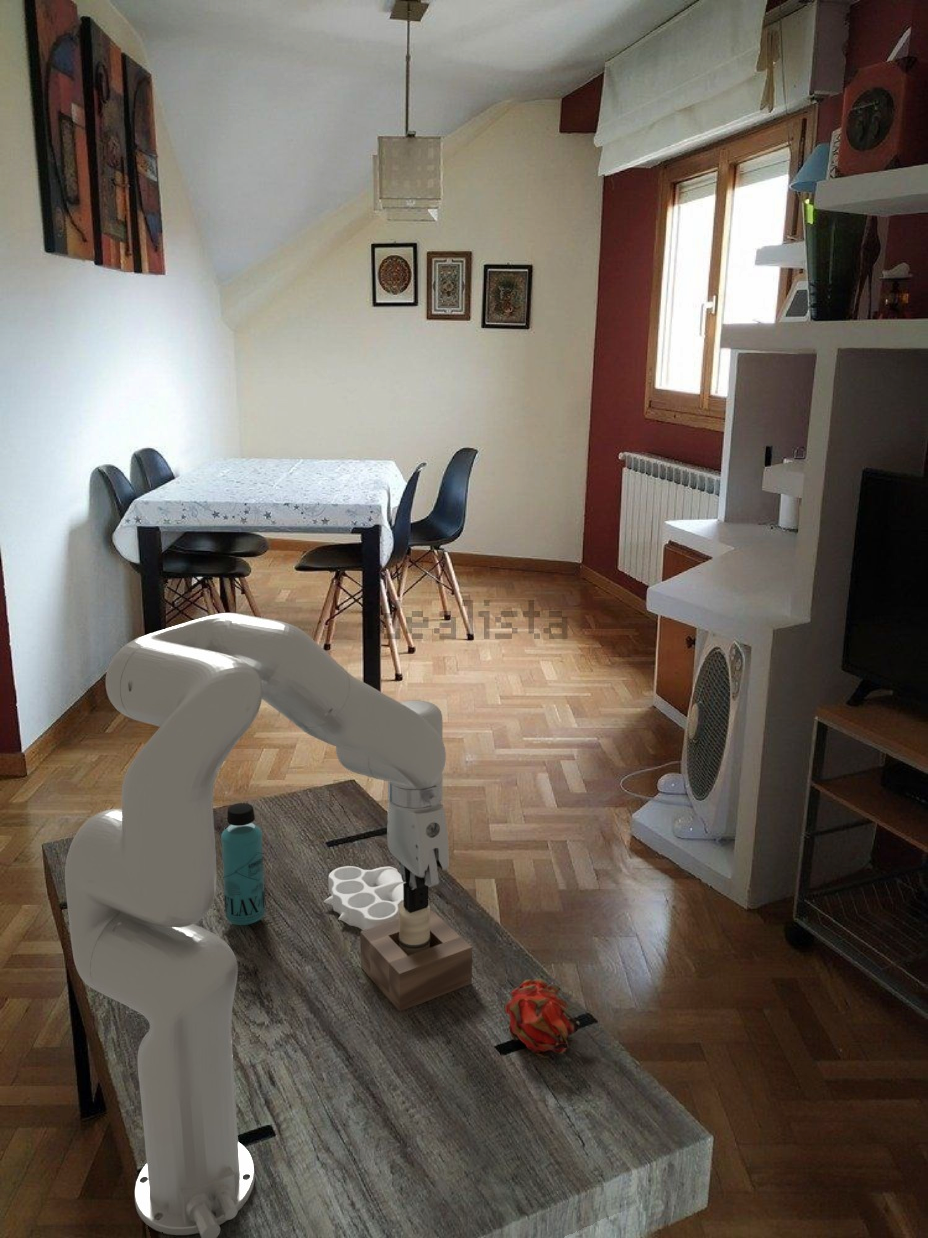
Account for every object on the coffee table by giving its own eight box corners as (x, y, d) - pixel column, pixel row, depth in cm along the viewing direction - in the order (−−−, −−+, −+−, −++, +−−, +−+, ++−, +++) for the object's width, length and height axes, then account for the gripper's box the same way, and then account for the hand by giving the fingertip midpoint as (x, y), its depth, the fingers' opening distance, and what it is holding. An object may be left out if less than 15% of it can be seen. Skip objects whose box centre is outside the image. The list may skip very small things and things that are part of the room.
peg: (436, 972, 144) (436, 910, 141) (408, 981, 141) (407, 919, 139) (421, 956, 147) (420, 895, 145) (393, 965, 145) (392, 904, 143)
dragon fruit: (519, 1019, 138) (563, 1086, 128) (478, 1005, 133) (520, 1073, 123) (556, 971, 137) (603, 1034, 127) (515, 955, 132) (561, 1020, 122)
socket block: (471, 983, 143) (472, 947, 141) (399, 1011, 137) (399, 974, 135) (429, 943, 152) (429, 908, 151) (361, 967, 146) (360, 931, 145)
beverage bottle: (217, 931, 155) (210, 814, 149) (236, 908, 161) (230, 795, 156) (256, 937, 153) (250, 819, 148) (274, 914, 160) (268, 800, 154)
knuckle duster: (437, 921, 159) (354, 948, 151) (386, 871, 174) (308, 893, 166) (437, 902, 158) (353, 929, 150) (386, 854, 173) (308, 875, 165)
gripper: (467, 804, 132) (466, 925, 137) (412, 765, 145) (412, 877, 150) (418, 818, 129) (419, 942, 134) (366, 776, 141) (368, 891, 146)
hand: (416, 907), depth 142 cm, fingers closed
